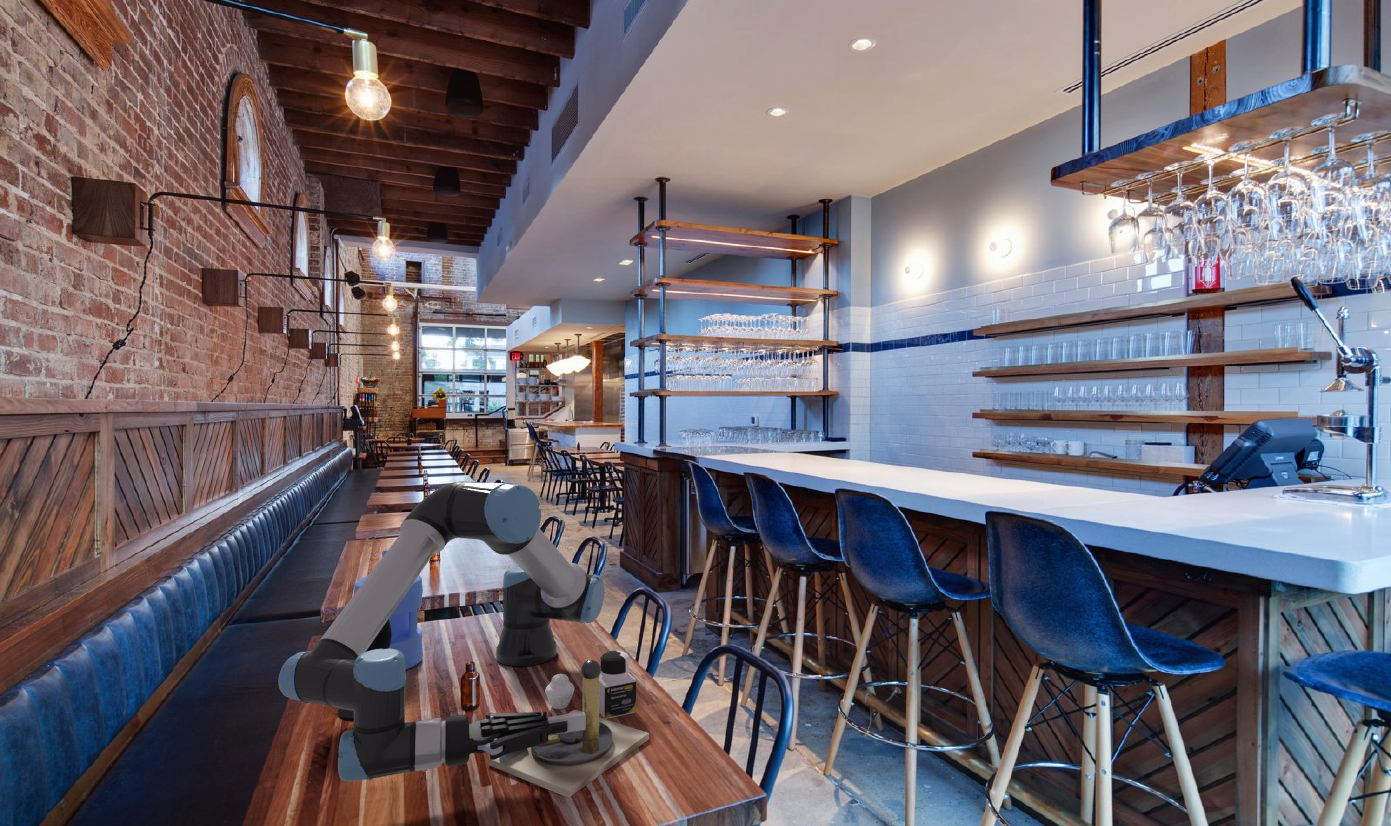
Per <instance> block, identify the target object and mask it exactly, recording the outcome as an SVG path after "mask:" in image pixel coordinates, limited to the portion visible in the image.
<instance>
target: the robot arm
mask: <svg viewBox="0 0 1391 826" xmlns="http://www.w3.org/2000/svg"><path fill="white" fill-rule="evenodd" d="M540 503H541V502H540V501H539V498H538V496H537V495H536V493H535V492H534V491H533V490H532V489H531V488H530V487H528V486H526V485H522V484H517V483H513V482H503V483H502V482H501V483H498V482H478V481H469V480H468V481H466V480H463V481H461V480H459V481H454V482H450V483H448V484H445V485H443V486H441V487H439V488H437V490H436V489H435V490H434V491H433V492H432V493H430V494H429V495H427V496H426V497H424V499H422V500H421V501H420V502H418V504H417V505H416V506H415V507H414V508H413V509H412V510H411V511H410V512H409V514H408V515H407V516H406V517H405V518H404V520H403V521H402V523H401V524H400V526H399V530H400V534H399V535H398V536H397V537H396V538H395V540H394V541H393V543H392V544H391V545H390V547H389V548H388V551H387V550H386V551H387V552H386V553H385V555H384V556H383V557H381V559H380V560H379V561H378V563H377V564H376V565H375V566H374V568H373V569H372V571H371V572H370V573H369V574H368V575H369V576H368V575H367V576H368V577H367V579H366V580H365V581H364V582H363V584H362V585H361V586H360V588H359V589H358V590H357V592H356V593H355V594H354V593H353V596H352V597H351V598H350V600H349V601H348V602H347V603H346V605H345V606H344V608H343V609H341V611H340V613H339V614H338V616H336V618H335V619H334V620H333V622H332V623H331V625H330V626H329V628H327V630H325V632H324V633H323V635H322V636H321V638H320V639H319V641H318V642H317V643H316V645H315V646H314V647H313V649H312V650H311V651H300V652H296V654H294V655H292V656H289V658H287V660H286V661H285V662H284V663H283V665H282V667H281V669H280V672H279V675H278V682H277V683H278V688H279V690H280V693H282V695H283V696H285V697H286V698H288V699H291V700H295V701H297V702H301V703H303V704H313V705H314V704H315V705H320V706H327V707H330V708H331V707H332V708H335V709H345V710H350V711H354V720H353V728H352V729H350V730H346V731H343V733H342V734H341V736H340V739H339V745H338V759H337V771H338V772H337V773H338V775H339V779H340V780H342V781H343V782H356V781H366V780H367V781H372V780H373V779H378V778H384V777H389V776H394V775H401V774H405V773H415V772H418V771H422V772H427V771H428V770H432V769H437V768H440V767H441V766H442V764H444V763H445V766H447V767H453V766H459V765H465V764H467V763H468V762H469V761H470V755H471V754H485V753H488V754H489V759H491V760H495V759H497V758H499V757H501V756H503V755H505V754H509V753H512V752H516V751H519V750H523V749H526V748H530V747H533V746H537V745H540V744H544V743H546V742H548V737H549V735H555V734H561V733H568V732H574V731H581V730H586V714H585V712H583V711H581V712H580V713H573V714H568V713H566V714H560V715H553V716H548V712H547V711H531V712H530V711H529V712H491V711H490V712H489V711H488V712H486V713H485V718H484V719H482V720H481V719H480V720H479V719H478V720H476V721H472V722H470V718H469V715H468V714H459V715H458V714H457V715H450V716H447V717H446V718H445V720H443V719H442V718H441V717H435V718H434V717H433V718H429V719H427V718H426V719H421V720H415V721H410V722H409V721H407V722H406V696H407V695H406V694H407V693H406V691H407V689H406V688H407V687H406V686H407V678H408V676H407V672H406V670H405V657H404V655H403V653H402V652H400V651H399V650H396V649H375V650H371V651H368V652H366V650H367V649H368V647H369V646H370V645H371V643H372V642H373V640H374V639H375V637H376V636H377V635H378V633H379V632H380V630H381V629H382V627H383V626H384V624H385V623H386V622H387V620H388V619H389V617H390V616H391V614H392V613H393V612H394V610H395V609H396V607H397V606H398V604H399V603H400V602H401V600H402V599H403V597H404V596H405V594H406V593H407V591H408V590H409V589H410V587H411V586H412V584H413V583H414V581H415V580H416V579H417V577H418V576H419V575H420V574H421V573H422V571H423V570H424V569H425V567H426V566H427V564H428V563H429V561H430V559H431V558H432V557H433V555H434V554H436V553H440V552H442V551H443V550H444V549H445V547H446V546H447V544H448V543H449V542H451V541H453V540H455V539H468V540H479V541H482V542H484V543H485V544H486V545H487V546H488V548H490V549H491V551H493V552H495V553H496V554H498V555H502V556H508V557H510V558H511V560H512V561H514V563H515V564H516V566H514V567H511V568H509V569H507V570H506V571H505V572H504V574H503V581H502V582H503V583H502V611H503V612H502V619H503V620H502V623H503V624H502V625H503V626H502V630H501V634H500V637H499V639H498V640H499V641H498V644H497V646H496V649H495V659H496V661H497V662H498V663H499V664H502V665H504V666H505V665H506V666H508V667H509V666H510V667H529V666H530V667H531V666H535V665H536V666H537V665H540V664H544V663H546V662H549V661H551V660H553V659H554V658H555V657H556V656H557V652H558V651H557V650H558V648H557V647H558V646H557V642H556V640H555V637H554V633H553V630H552V627H551V623H550V621H551V620H556V621H557V620H558V621H565V622H566V621H567V622H575V623H580V624H591V623H594V622H595V621H596V620H597V618H598V617H599V615H600V614H601V611H602V608H603V605H604V601H605V600H604V599H605V590H606V589H605V581H604V579H603V577H602V576H601V575H597V574H595V573H594V574H590V573H589V574H588V573H587V572H586V571H585V570H584V568H582V567H581V566H580V565H578V564H577V563H575V562H569V561H568V560H567V559H566V558H565V557H564V555H563V554H562V553H561V552H560V550H558V548H557V547H556V546H555V545H554V544H553V542H552V541H551V539H549V538H548V536H547V535H546V534H545V533H544V532H543V530H541V528H540V524H541V521H542V520H541V519H542V509H541V508H539V507H540Z"/></svg>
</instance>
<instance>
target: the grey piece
mask: <svg viewBox="0 0 1391 826" xmlns="http://www.w3.org/2000/svg"><path fill="white" fill-rule="evenodd" d="M544 692H545V696H546V698H547V700H548V702H549V704H550V705H551V708H552V709H555V710H563V709H566V708H568V706H569V704H570V702H571V700H572V698H573V696H574V692H575V686H574V685H573V683H572V682H571V681H570V679H569V677H568V675H567V674H565V673H557V674H555V675H553V677H551V681H550V683H549V684H548V685H547V686H546V687H545V690H544Z"/></svg>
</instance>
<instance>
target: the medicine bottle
mask: <svg viewBox="0 0 1391 826" xmlns="http://www.w3.org/2000/svg"><path fill="white" fill-rule="evenodd" d="M600 666H601V673H600V675H599V715H601V717H602V718H603V719H606V720H609V719H613V718H617V717H621V716H626V715H632V714H635V713H636V712H637V679H636V678H635V677H634V676H632V674H631V673H630V655H629V654H628V653H627V652H626V651H622V650H610V651H607V652H605V653H603V654H602V655H601V656H600Z"/></svg>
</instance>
